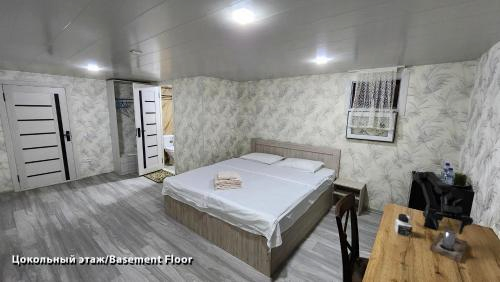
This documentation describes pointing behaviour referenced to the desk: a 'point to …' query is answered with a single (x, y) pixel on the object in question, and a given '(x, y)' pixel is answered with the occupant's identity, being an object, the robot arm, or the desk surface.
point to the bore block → (455, 255)
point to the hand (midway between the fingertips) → (448, 231)
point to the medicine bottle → (403, 225)
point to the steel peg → (448, 240)
